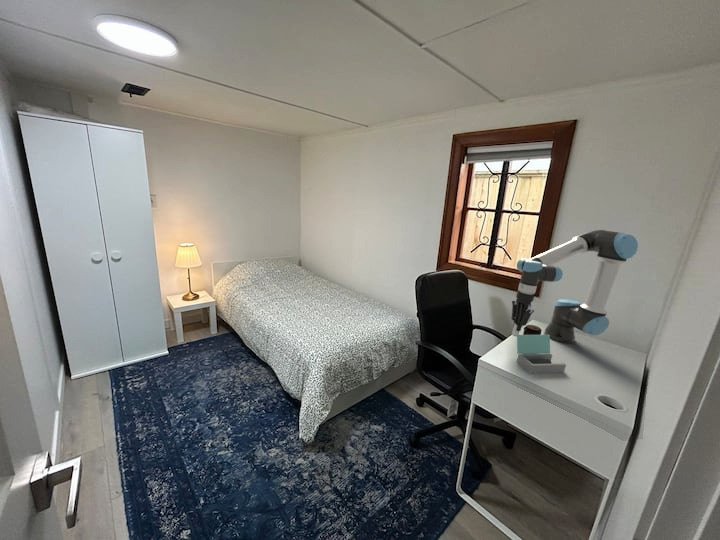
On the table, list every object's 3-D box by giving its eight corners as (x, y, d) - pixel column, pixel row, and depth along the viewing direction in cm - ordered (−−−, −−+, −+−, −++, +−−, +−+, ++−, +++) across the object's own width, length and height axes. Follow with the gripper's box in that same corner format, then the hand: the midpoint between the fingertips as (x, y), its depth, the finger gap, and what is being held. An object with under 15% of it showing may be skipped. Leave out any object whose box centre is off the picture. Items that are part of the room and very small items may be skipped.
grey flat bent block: (548, 360, 147) (550, 353, 146) (564, 372, 138) (566, 364, 137) (516, 361, 144) (518, 354, 143) (530, 373, 135) (532, 365, 134)
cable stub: (546, 366, 144) (545, 358, 145) (552, 366, 141) (551, 359, 141) (528, 366, 142) (527, 359, 143) (534, 367, 139) (532, 359, 139)
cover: (550, 353, 147) (549, 353, 147) (549, 334, 147) (548, 334, 148) (518, 353, 143) (517, 353, 144) (517, 335, 144) (516, 334, 144)
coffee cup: (540, 354, 153) (546, 331, 150) (524, 353, 153) (530, 330, 150) (531, 346, 161) (536, 324, 158) (516, 344, 161) (521, 322, 158)
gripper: (510, 287, 150) (500, 329, 157) (529, 296, 138) (517, 341, 144) (523, 287, 152) (513, 329, 158) (542, 297, 140) (530, 341, 146)
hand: (515, 335), depth 151 cm, fingers closed
